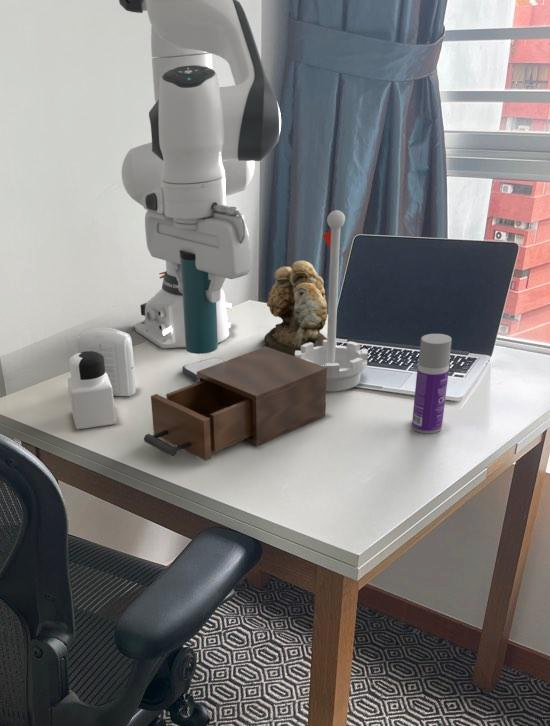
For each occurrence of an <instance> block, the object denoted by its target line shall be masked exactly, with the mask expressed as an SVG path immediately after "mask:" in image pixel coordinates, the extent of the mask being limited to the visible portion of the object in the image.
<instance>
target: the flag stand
mask: <svg viewBox="0 0 550 726" xmlns="http://www.w3.org/2000/svg"><path fill="white" fill-rule="evenodd" d="M326 221H327V222H326V223H327V225H328V226H329V227H330V230H328V231H327V232H325V233H324V234H322V237H323V239H324V242H325V243H326V245H327V247H328V249H329V251H330V254H329V278H328V303H327V329H326V330H327V331H326V332H327V333H326V338H327V340H323V346H317V347H314V344H313V343H311V342H309V343H306V344H304V345H301V351H295V357H298V358H301V359H303V360H306V361H309V362H312V363H315V364H318V365H322V366H323V365H324V367H327V385H326V392H340V391H342V392H343V391H346V390H350V389H353V388H355V387H357V386H358V385H359V384H360V382H361V373H362V372H363V371H364V370H365V369H366V368H367V367H368V353H369V351H368V349H367V348H362V349H361V343H358V342H355V341H351V340H349V341H348V342H346V345H337V341H338V340H337V317H338V316H337V314H338V295H339V294H338V291H339V273H340V271H339V270H340V269H339V268H340V249H341V248H340V247H341V228H342V227H343V226H344V224H345V222H346V216H345V214H344V212H343V211H341V210H338V209H336V210H333V211H331V212H329V214H328V215H327V219H326Z"/></svg>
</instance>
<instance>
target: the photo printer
mask: <svg viewBox="0 0 550 726" xmlns="http://www.w3.org/2000/svg"><path fill="white" fill-rule="evenodd" d="M78 349H79V353H80V352H85V351H93V352H98V353H100V354H102V355H103V356H104V363H105V372H106V373H107V375H108V378H109V380H110V383H111V386H112V390H113V396H116V397H117V396H118V397H132V396H133V395H135V393H136V392H137V391H136V376H135V375H136V373H135V364H134V363H135V361H134V352H133V351H134V350H133V340H132V337H131V335H130V334H129V333H127V332H125V331H123V330H119V329H114V328H109V327H95V328H89V329H86V330H83V331H82V332H80V333H79V336H78Z"/></svg>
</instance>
